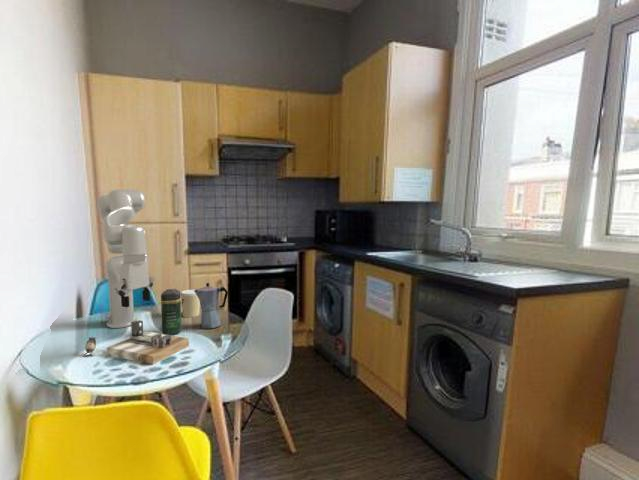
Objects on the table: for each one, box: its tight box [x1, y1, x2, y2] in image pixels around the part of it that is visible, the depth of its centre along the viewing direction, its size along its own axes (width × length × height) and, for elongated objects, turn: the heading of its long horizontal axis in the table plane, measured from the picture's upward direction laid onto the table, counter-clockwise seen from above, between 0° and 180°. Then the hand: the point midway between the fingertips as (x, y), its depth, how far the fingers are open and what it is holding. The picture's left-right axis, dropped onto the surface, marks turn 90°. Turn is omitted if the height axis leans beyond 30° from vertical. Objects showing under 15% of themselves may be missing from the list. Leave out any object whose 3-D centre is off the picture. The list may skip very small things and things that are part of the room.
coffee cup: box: [180, 289, 201, 318], centre depth 183 cm, size 9×9×12 cm
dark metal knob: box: [129, 320, 160, 343], centre depth 139 cm, size 13×4×7 cm, turn 69°
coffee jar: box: [160, 288, 182, 336], centre depth 158 cm, size 10×8×19 cm
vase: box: [83, 336, 97, 357], centre depth 135 cm, size 5×5×6 cm
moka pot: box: [194, 282, 229, 330], centre depth 166 cm, size 10×15×20 cm, turn 95°
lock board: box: [106, 331, 190, 365], centre depth 138 cm, size 22×18×6 cm
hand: (136, 303), depth 138 cm, fingers open, 9 cm apart
